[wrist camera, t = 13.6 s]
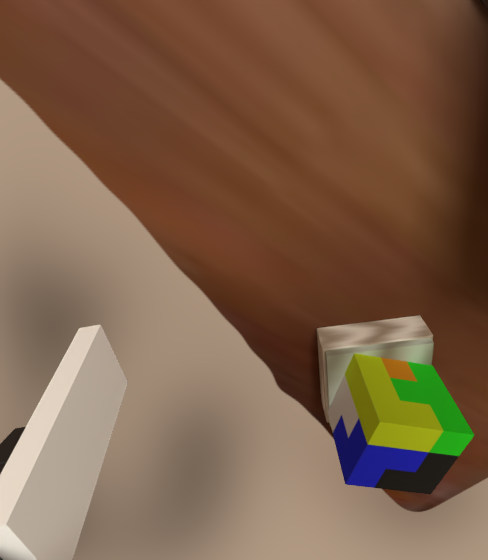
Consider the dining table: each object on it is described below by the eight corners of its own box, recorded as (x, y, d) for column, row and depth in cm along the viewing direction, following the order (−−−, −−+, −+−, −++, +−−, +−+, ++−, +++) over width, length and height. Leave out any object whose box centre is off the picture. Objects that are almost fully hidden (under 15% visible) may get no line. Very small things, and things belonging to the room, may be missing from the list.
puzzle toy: (327, 411, 53) (345, 484, 44) (353, 353, 48) (379, 421, 40) (399, 421, 54) (430, 494, 46) (432, 365, 49) (474, 435, 41)
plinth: (419, 315, 52) (436, 340, 47) (413, 389, 58) (427, 417, 54) (316, 328, 52) (323, 354, 48) (321, 400, 59) (328, 428, 55)
